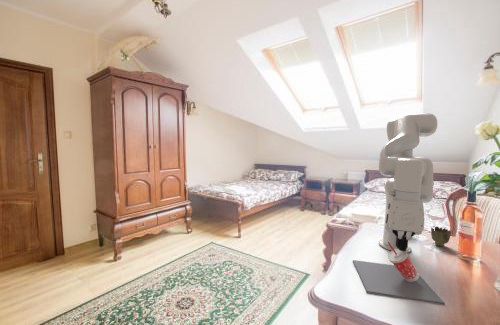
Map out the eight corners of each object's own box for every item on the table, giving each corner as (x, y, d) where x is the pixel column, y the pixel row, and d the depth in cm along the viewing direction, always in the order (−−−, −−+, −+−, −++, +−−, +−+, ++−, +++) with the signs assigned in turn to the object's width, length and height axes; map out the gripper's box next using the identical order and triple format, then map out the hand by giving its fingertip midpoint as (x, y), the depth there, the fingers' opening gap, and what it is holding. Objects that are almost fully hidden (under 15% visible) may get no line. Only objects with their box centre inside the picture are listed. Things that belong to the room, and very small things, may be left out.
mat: (352, 261, 92) (352, 259, 92) (412, 269, 87) (412, 267, 87) (366, 292, 72) (367, 290, 72) (444, 304, 68) (444, 302, 68)
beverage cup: (402, 271, 83) (380, 238, 83) (421, 269, 79) (398, 235, 79) (401, 284, 78) (378, 250, 78) (421, 282, 74) (397, 246, 74)
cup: (443, 250, 105) (445, 232, 104) (425, 243, 112) (427, 227, 111) (453, 247, 108) (454, 231, 107) (435, 241, 115) (436, 225, 114)
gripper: (385, 196, 75) (380, 251, 76) (438, 200, 72) (432, 257, 73) (377, 191, 82) (373, 242, 84) (425, 195, 79) (420, 247, 81)
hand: (401, 249), depth 78 cm, fingers closed
